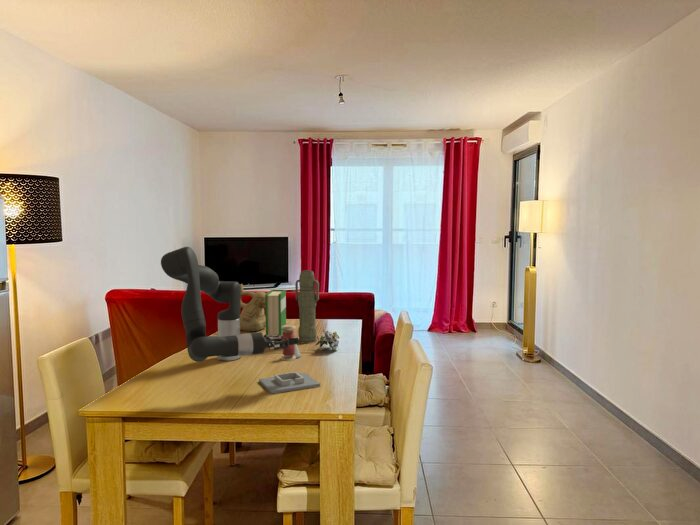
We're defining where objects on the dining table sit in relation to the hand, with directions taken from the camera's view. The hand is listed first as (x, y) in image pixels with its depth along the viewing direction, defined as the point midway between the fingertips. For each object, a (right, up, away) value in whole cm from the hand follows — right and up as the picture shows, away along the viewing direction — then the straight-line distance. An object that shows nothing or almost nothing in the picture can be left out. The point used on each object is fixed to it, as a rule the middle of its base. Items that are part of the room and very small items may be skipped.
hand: (295, 339), depth 179 cm
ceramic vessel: (-34, -9, +95) cm, 101 cm away
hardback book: (-17, -11, +70) cm, 73 cm away
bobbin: (-2, -7, -1) cm, 8 cm away
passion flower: (+9, -13, +48) cm, 51 cm away
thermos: (-1, -11, +67) cm, 68 cm away
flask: (-5, -14, +37) cm, 40 cm away
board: (-2, -16, 0) cm, 16 cm away
